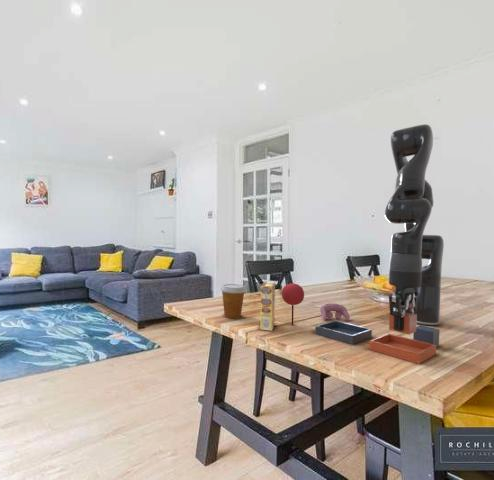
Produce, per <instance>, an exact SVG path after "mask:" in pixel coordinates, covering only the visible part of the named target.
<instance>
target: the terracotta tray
mask: <svg viewBox="0 0 494 480" xmlns="http://www.w3.org/2000/svg"><path fill="white" fill-rule="evenodd" d="M368 349H369V350H370V351H374V352H377V353H380V354H383V355H387V356H391V357H395V358H397V359H401V360H405V361H407V362H410V363H411V362H412V363H415V364H418V365H419V364H422V363H424V362H425V361H426V360H428V359H430V358H432V357H433V356H435V355H437V347H436V345H434V344H430V343H425V342H421V341H417V340H413V338H409V337H404V336H400V335H397V334H392V333H386V334H383V335H381V336H378V337H375V338H373V339H371V340H369V348H368Z"/></svg>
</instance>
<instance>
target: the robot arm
mask: <svg viewBox="0 0 494 480" xmlns="http://www.w3.org/2000/svg"><path fill="white" fill-rule="evenodd" d="M433 146H434V134H433V130H432V127H431V126H430V125H429V124H425V123H424V124H418V125H414V126H410V127H409V126H408V127H404V128H401V129H396V130H394V131H392V133H391V135H390V147H391V152H392V157H393V162H394V166H395V170H396V174H397V176H396V179H395V188H394V192H393V194H392V196H391V197H390V198H389V200H388V202H387V204H386V206H385V209H384V217H385V219H386V220H387V221H388V222H389V223H390V224H398V225H400V224H403V225H404V229H405V230H404V231H399V232H395V233H393V234H392V235H391V246H390V247H391V248H390V252H391V253H390V258H389V267H388V268H389V270H388V271H389V272H388V284H389V285H390V286H393V287H394V292H393V294H392V293H391V294H388V304H389V316H390V315H393V316H394V330H397V331H403V330H404V315H405V312H408V313H414V314H417V325H421V326H430V327H431V326H432V327H433V326H434V327H435V326H439V325H440V312H441V308H440V307H441V289H442V288H441V287H442V268H443V266H442V265H443V257H444V256H443V255H444V249H445V248H444V246H445V243H444V238H443V237H442V236H441V235H438V234H424V232H425V229H426V226H427V224H428V222H429V219H430V216H431V214H432V209H433V207H434V195H433V188H432V186H431V184H430V183H429V181H427V179H426V172H427V169H428V165H429V163H430V159H431V154H432V151H433ZM411 156H412V158H411V159H409V160H408V159H407V157H411ZM423 260H429V263H427V264H425V265H423ZM397 310H398V312H397Z"/></svg>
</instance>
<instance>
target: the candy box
mask: <svg viewBox="0 0 494 480" xmlns="http://www.w3.org/2000/svg"><path fill="white" fill-rule="evenodd" d="M275 305H276V282H270V281H264V282H263V283H262V284H261V285H260V320H259V321H260V322H259V323H260V324H259V325H260V328H259V330H260V331H269V332H270V331H271V332H272V331H273V329H274V326H275V308H276V307H275Z"/></svg>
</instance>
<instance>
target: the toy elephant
mask: <svg viewBox="0 0 494 480" xmlns="http://www.w3.org/2000/svg"><path fill="white" fill-rule="evenodd" d="M319 310H320V314H321V317H322V319H323V320H324V321H326V320H327V319H332V318H335V319H336V320H340V319H341V318H342V316H343V318H344V319H345V320H346V321H347V322H349V321H350V314H349V312H348V310H347V308H346V307H345V306H344V305H343V304H338V303H334V302H333V303H331V302H330V303H325V304H323V305H321V306H320V308H319ZM333 312H335V313H333Z"/></svg>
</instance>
